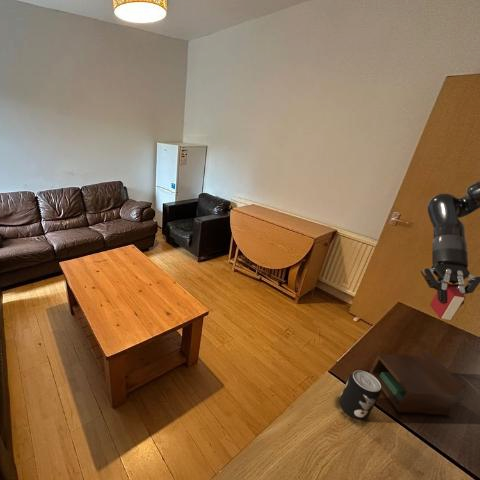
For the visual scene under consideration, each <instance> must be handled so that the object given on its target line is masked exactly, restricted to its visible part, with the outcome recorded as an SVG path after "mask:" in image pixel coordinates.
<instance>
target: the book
mask: <svg viewBox="0 0 480 480" xmlns="http://www.w3.org/2000/svg"><path fill="white" fill-rule="evenodd" d="M446 291H447V303H444V304H443V303H440V301H438V293H437V292H436V293H435V295H434V296H433V298H432V299H431V302H430V303H429V306H430V307H431V309H432V310H433V311H434V313H435V314H436V315H437V317H438V318H439V319H440V320H446V321H450V322H451V321H452V320H453V318H454V317H455V315H456V314H457V312H458V311H459V309H460V307H461V304H462V303H463V301H464V302H465V300H466V298H467V297H466V296H465V294H464V295H463V294H462V293H461V292H460V291H459V290H458V289H457V288H456V287H455V286H454V285H453V284H451V283H448V284H447V289H446ZM462 305H463V304H462Z"/></svg>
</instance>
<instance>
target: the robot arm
mask: <svg viewBox="0 0 480 480" xmlns="http://www.w3.org/2000/svg"><path fill="white" fill-rule="evenodd" d="M465 190H466V191H465V192H466V194H465V195H464V196H462V197H457V196H455V195H453V194H451V193H446V192H445V193H444V192H443V193H438V194H435V195H434V196H433V197H431V198H430V200H429V201H428V203H427V214H428V217H429V219H430V223H431V225H432V243H431V264H432V266H430V267H431V268H424V269H422V270H420V273H421V275H422V277H423V278H424V281H425V282H426V284H427V286H428V288H430V289H434V290H436V293H438V301H440V303H443V304H444V303H447V291H446V289H447V284H453V285H454V286H455V287H456V288H457V289H458V290H459V291H460V292H461V293H462V294H463V295H464V296H465V295H467V294H473V293H474V291H475V290H476V288H477V287H478V286H479V284H480V276H475V275H473V274H471V273H470V271H469V269H468V266H469V257H468V243H467V240H466V226H465V224H464V223H463V222H462V221H461V220H460V219H462V218H464V217H467V216H469V215H470V214H472V213H474V212H476V211H477V210H479V209H480V180H478V181H476V182H474V183H472V184H470V185H468V186H467V187H466V189H465ZM434 275H435V276H436V277H435V276H434ZM436 278H437V279H436ZM466 278H467V279H466ZM465 280H466V282H467V283H466V284H465ZM464 304H465V300H464V301H463V303H462V304H461V306H463V305H464ZM461 306H460V307H461Z"/></svg>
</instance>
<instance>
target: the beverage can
mask: <svg viewBox="0 0 480 480" xmlns="http://www.w3.org/2000/svg"><path fill="white" fill-rule="evenodd" d="M381 394H382V389H381V384H380V382H379V381H378V380H377V379H376V378H375V377H374V376H373V375H371V374H370V373H369V372H368V371H364V370H361V369H360V370H359V369H358V370H355V371H354V372H352V373H351V374H349V377H348V379H347V381H346V383H345V385H344V387H343V388H342V392H341V393H340V396H339V398H338V405H339V406H340V408H341V410H342V411H343V412H344V414H346V415H347V416H348V417H350V418H351V419H354V420H357V421H364V420H365V421H366V420H367V419H368V417H369V416H370V414H371V412H372V410H373V409H374V407H375V405H376V403H377V401H378V400H379V398H380V396H381Z"/></svg>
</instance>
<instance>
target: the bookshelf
mask: <svg viewBox="0 0 480 480" xmlns="http://www.w3.org/2000/svg"><path fill="white" fill-rule="evenodd" d="M368 373H370V374H371V375H373V376H374V377H375V378H376V379H377V380H378V381H379V382H380V384H381V391H382V392H383V394H384V395H385V396H386V397H387V398H388V400H389V401H390V402H391V404H392V405H393V407H394V408H395V409H396V410H397V412H398V413H412V414H427V415H428V414H429V415H443V416H444V415H445V416H446V415H447V414H448V413H449V412H450V411H451V409H452V408H453V406H455V404H456V403H457V402H458V400H459V399H460V397H462V395H463V394H464V392H465V391H466V390H467V386H466V385H464V384H463V383H462V382H461V381H460V380H459V379H458V378H457V377H456V376H455V375H453V374H452V372H450V371H449V369H448V368H446V367H445V366H444V365H443V364H442V363H440V361H438V359H437V358H436V357H434V356H433V355H432V354H431V353H430V352H429V351H428V350H427V349H426V348H421V349H420V350H419V352H418V354H417V355H408V354H407V355H406V354H405V355H404V354H381V353H378V354H377V355H376V357H375V359H374V361H373V363H372V365H371V367H370V368H369V371H368Z"/></svg>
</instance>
